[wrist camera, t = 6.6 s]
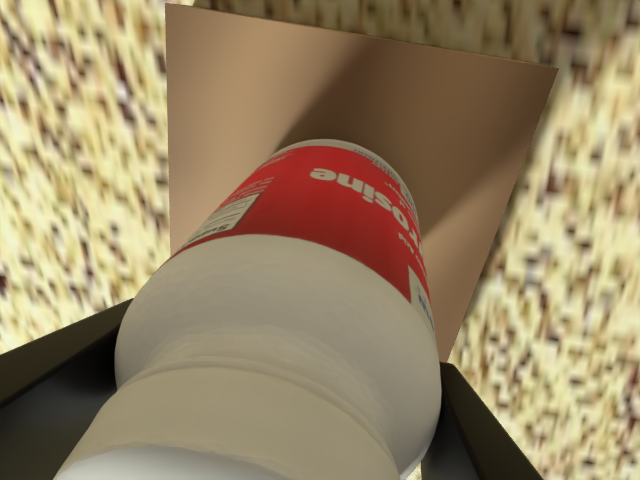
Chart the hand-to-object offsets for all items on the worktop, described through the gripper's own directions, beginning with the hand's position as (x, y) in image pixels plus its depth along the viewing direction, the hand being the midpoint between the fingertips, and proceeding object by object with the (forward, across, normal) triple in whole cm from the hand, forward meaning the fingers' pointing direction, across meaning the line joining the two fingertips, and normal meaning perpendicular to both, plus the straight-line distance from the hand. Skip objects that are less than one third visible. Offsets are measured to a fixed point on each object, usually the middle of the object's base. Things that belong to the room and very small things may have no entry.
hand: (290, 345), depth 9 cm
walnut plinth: (+9, 0, 0) cm, 9 cm away
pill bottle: (+7, 0, 0) cm, 7 cm away
